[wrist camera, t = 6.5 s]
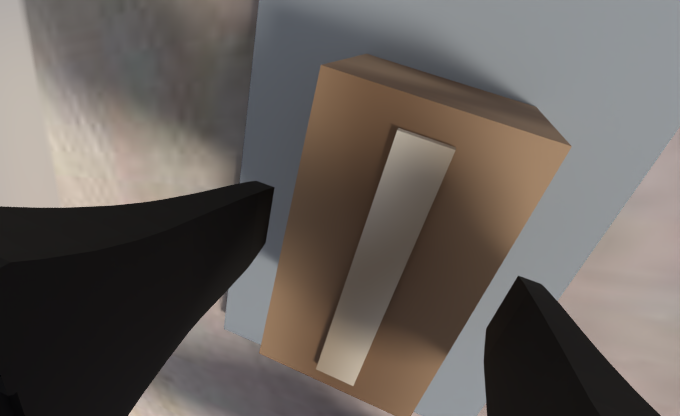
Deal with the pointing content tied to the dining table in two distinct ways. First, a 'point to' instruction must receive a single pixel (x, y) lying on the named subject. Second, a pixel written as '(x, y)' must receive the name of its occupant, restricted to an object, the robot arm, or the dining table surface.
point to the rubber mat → (492, 76)
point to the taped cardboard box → (399, 224)
